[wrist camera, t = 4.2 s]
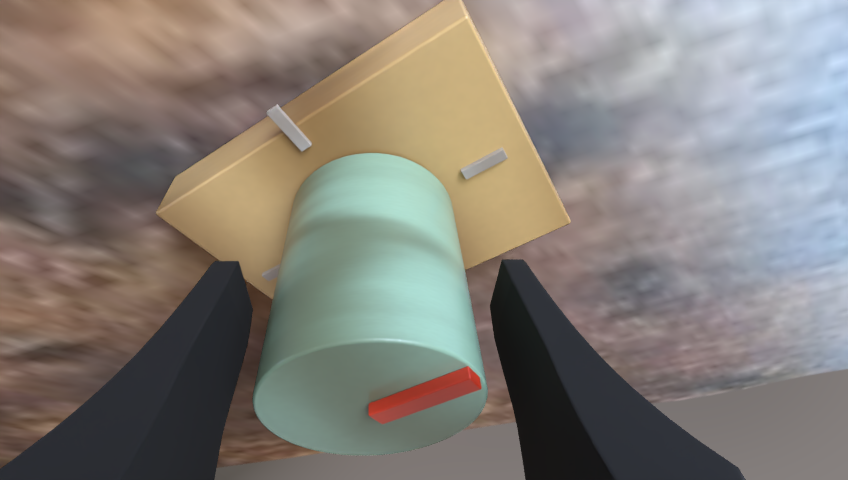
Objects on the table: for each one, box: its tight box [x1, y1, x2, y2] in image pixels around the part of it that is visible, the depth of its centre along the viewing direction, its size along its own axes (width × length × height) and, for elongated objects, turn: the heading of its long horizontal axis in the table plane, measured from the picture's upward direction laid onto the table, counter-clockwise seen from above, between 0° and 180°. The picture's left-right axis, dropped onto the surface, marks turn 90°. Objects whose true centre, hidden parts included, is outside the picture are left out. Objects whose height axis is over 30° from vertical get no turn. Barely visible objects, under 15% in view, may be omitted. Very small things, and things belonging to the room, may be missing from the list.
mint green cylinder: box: [252, 153, 488, 455], centre depth 13 cm, size 5×5×7 cm
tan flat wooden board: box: [156, 0, 570, 300], centre depth 16 cm, size 11×9×2 cm
